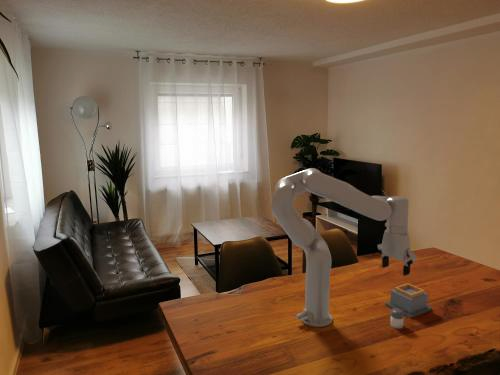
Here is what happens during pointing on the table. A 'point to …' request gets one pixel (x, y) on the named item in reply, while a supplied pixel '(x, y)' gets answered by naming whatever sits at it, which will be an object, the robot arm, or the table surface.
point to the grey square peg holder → (409, 300)
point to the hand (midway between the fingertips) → (395, 270)
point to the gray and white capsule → (397, 318)
